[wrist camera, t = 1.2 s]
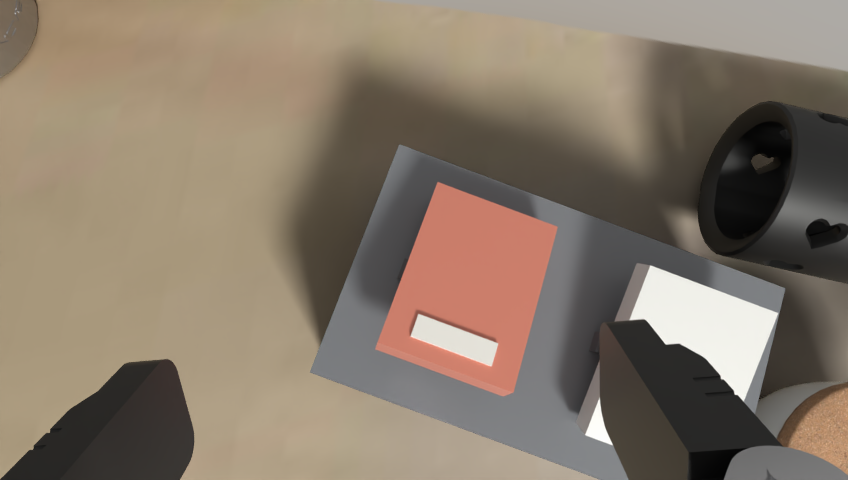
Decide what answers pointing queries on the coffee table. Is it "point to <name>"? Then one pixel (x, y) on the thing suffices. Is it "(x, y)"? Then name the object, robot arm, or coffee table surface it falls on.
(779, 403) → the lidded jar
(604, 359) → the robot arm
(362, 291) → the switch box
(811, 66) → the coffee table surface
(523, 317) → the labelled salmon box
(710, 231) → the muzzle brake
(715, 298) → the white block
